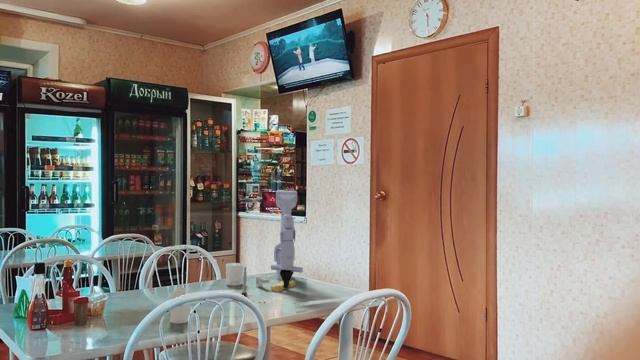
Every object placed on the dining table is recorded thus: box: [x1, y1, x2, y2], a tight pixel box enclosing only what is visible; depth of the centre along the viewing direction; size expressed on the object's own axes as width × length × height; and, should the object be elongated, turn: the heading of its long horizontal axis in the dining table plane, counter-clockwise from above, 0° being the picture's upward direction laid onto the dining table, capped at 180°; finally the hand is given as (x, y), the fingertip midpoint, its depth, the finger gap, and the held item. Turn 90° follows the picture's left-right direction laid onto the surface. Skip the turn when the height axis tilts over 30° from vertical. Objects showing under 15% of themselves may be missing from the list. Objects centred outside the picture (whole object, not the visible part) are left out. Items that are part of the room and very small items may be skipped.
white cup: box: [225, 262, 245, 286], centre depth 237 cm, size 8×8×10 cm
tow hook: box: [240, 266, 253, 297], centre depth 219 cm, size 8×13×9 cm
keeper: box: [255, 276, 270, 288], centre depth 230 cm, size 2×8×4 cm, turn 34°
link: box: [270, 280, 296, 293], centre depth 231 cm, size 16×5×2 cm, turn 159°
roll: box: [169, 285, 190, 325], centre depth 179 cm, size 6×12×6 cm
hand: (286, 287), depth 229 cm, fingers closed
